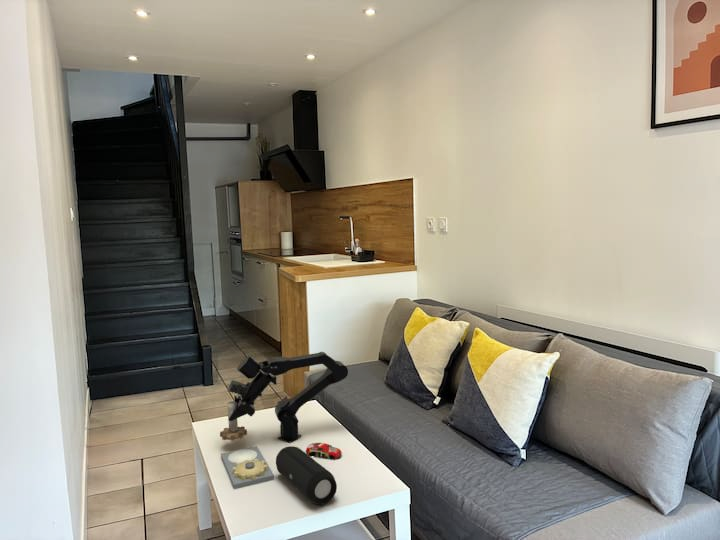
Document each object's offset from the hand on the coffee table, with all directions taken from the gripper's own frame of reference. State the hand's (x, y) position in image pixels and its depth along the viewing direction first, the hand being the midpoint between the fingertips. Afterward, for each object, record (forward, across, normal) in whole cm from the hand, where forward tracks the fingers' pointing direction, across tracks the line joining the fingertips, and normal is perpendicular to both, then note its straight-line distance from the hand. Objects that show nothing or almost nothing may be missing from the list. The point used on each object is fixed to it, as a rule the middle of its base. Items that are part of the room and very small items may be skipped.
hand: (228, 418), depth 199 cm
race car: (-14, +18, +30) cm, 38 cm away
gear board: (+5, +18, +11) cm, 22 cm away
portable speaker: (-6, +38, +22) cm, 45 cm away
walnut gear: (+4, 0, +6) cm, 7 cm away
